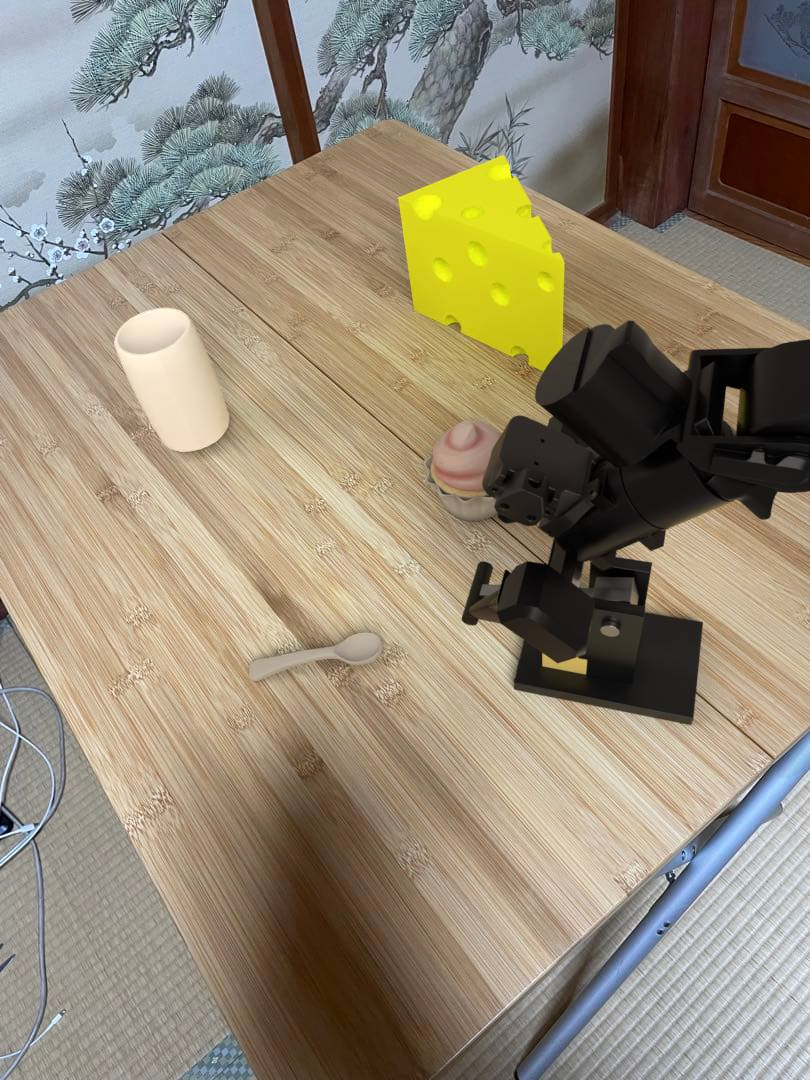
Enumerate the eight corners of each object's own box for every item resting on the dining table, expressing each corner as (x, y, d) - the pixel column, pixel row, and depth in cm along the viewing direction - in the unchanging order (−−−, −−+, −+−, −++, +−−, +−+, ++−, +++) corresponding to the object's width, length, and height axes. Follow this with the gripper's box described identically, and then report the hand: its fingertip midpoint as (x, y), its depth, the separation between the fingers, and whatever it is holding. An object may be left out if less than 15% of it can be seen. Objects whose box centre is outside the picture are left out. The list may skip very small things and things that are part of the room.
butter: (553, 616, 71) (553, 600, 69) (596, 623, 70) (597, 607, 68) (542, 666, 68) (542, 651, 66) (586, 674, 67) (587, 659, 65)
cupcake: (485, 550, 78) (478, 478, 70) (409, 507, 82) (396, 435, 75) (543, 489, 82) (543, 413, 74) (468, 451, 86) (460, 376, 78)
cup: (228, 399, 96) (188, 295, 85) (241, 447, 91) (200, 342, 80) (157, 422, 95) (106, 320, 84) (166, 471, 90) (113, 369, 79)
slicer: (513, 690, 69) (509, 618, 60) (535, 601, 74) (534, 523, 65) (691, 725, 65) (713, 654, 56) (701, 629, 70) (722, 550, 61)
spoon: (387, 664, 71) (382, 652, 70) (254, 693, 72) (246, 682, 71) (384, 635, 73) (379, 623, 72) (254, 664, 74) (246, 652, 73)
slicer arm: (466, 629, 67) (457, 611, 65) (482, 574, 70) (474, 556, 68) (632, 639, 61) (627, 620, 59) (641, 579, 64) (637, 559, 62)
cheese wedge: (583, 272, 103) (588, 154, 91) (561, 380, 91) (564, 261, 80) (431, 266, 108) (417, 154, 96) (391, 368, 96) (371, 255, 84)
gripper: (586, 312, 55) (441, 417, 66) (528, 530, 44) (367, 610, 56) (695, 413, 58) (540, 496, 70) (667, 636, 48) (489, 690, 59)
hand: (488, 564), depth 64 cm, fingers open, 9 cm apart
